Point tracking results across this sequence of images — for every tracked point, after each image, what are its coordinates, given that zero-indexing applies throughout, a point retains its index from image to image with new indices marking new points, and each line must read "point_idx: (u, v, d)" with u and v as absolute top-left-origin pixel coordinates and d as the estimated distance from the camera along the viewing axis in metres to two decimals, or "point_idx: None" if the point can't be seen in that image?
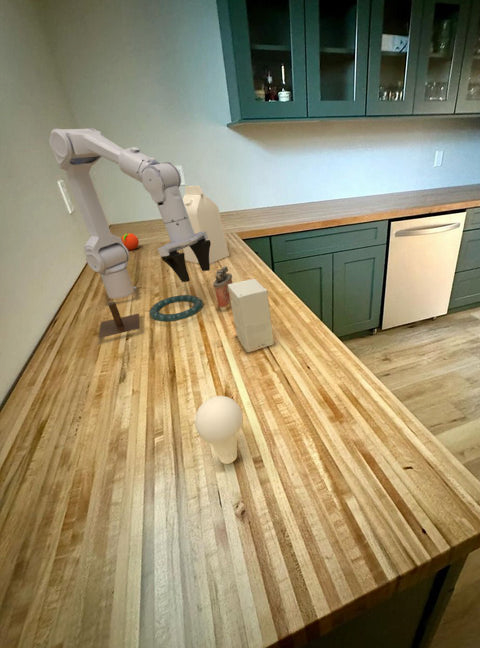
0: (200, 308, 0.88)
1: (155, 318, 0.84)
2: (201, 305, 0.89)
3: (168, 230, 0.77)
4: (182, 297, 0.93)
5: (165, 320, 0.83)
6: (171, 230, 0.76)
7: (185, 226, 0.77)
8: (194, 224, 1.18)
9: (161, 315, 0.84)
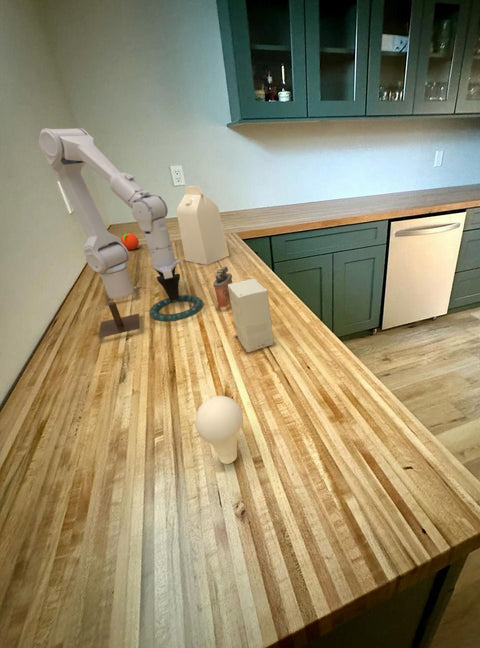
0: (200, 308, 0.88)
1: (155, 318, 0.84)
2: (201, 305, 0.89)
3: (159, 255, 0.85)
4: (182, 297, 0.93)
5: (165, 320, 0.83)
6: (163, 255, 0.85)
7: (172, 250, 0.88)
8: (194, 224, 1.18)
9: (161, 315, 0.84)
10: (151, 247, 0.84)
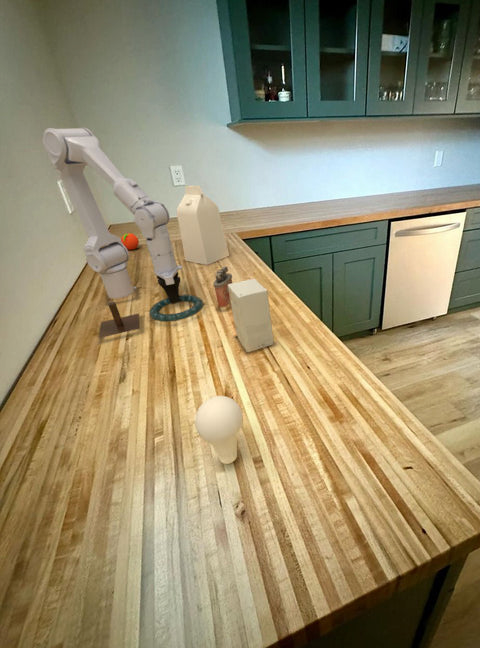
0: (200, 308, 0.88)
1: (155, 317, 0.84)
2: (201, 305, 0.89)
3: (161, 261, 0.86)
4: (182, 297, 0.93)
5: (165, 320, 0.83)
6: (165, 262, 0.86)
7: (174, 257, 0.88)
8: (194, 224, 1.18)
9: (161, 315, 0.84)
10: (153, 254, 0.85)
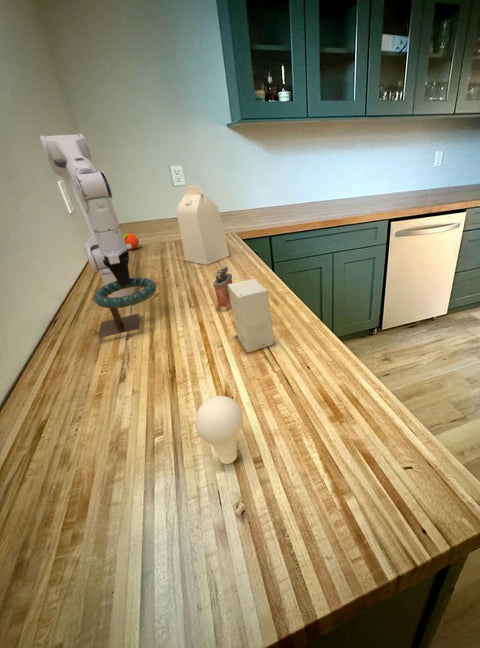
0: (150, 291, 0.79)
1: (99, 301, 0.76)
2: (152, 288, 0.81)
3: (105, 238, 0.77)
4: (133, 280, 0.85)
5: (109, 304, 0.75)
6: (110, 239, 0.77)
7: (121, 234, 0.80)
8: (194, 224, 1.18)
9: (105, 298, 0.76)
10: (92, 229, 0.77)
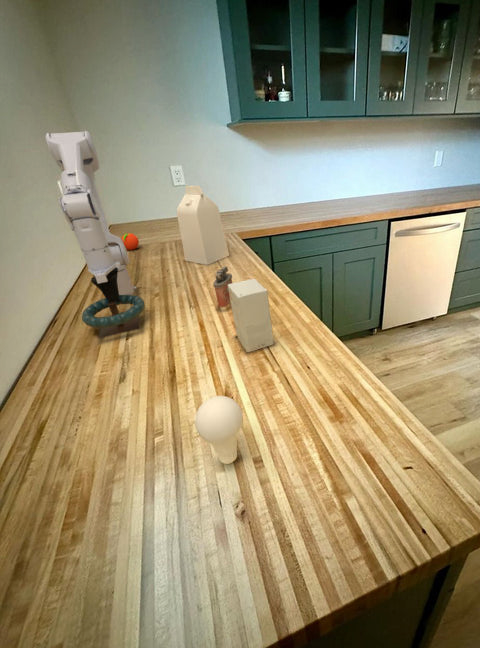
0: (138, 310, 0.80)
1: (86, 321, 0.76)
2: (140, 307, 0.81)
3: (93, 257, 0.77)
4: (122, 297, 0.85)
5: (96, 324, 0.75)
6: (98, 257, 0.78)
7: (110, 252, 0.80)
8: (194, 224, 1.18)
9: (92, 318, 0.76)
10: None
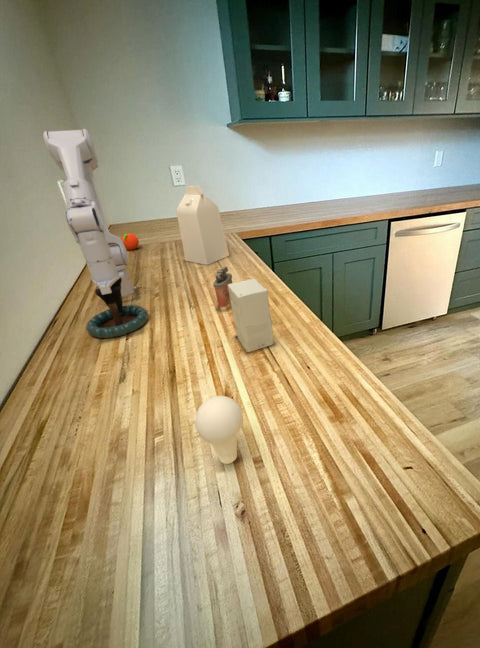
0: (142, 320, 0.81)
1: (91, 331, 0.77)
2: (144, 317, 0.82)
3: (97, 269, 0.79)
4: (126, 308, 0.87)
5: (101, 334, 0.77)
6: (102, 269, 0.79)
7: (114, 263, 0.81)
8: (194, 224, 1.18)
9: (97, 329, 0.77)
10: (85, 259, 0.79)
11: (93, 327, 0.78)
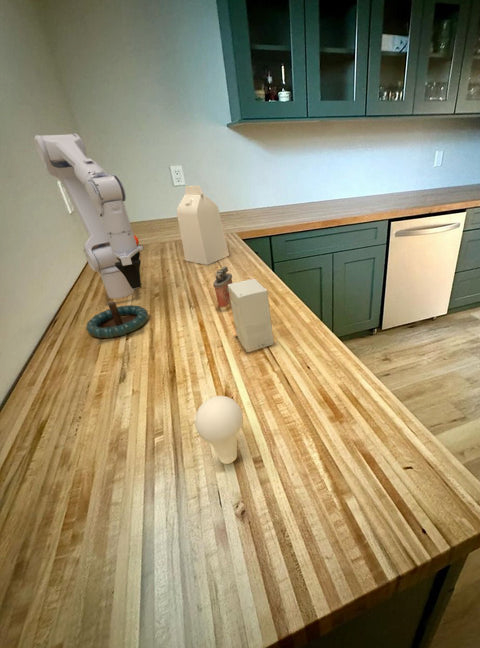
0: (142, 320, 0.81)
1: (91, 331, 0.77)
2: (144, 317, 0.82)
3: (118, 240, 0.79)
4: (126, 308, 0.87)
5: (101, 334, 0.77)
6: (122, 241, 0.79)
7: (133, 236, 0.82)
8: (194, 224, 1.18)
9: (97, 329, 0.77)
10: (106, 231, 0.79)
11: (93, 327, 0.78)
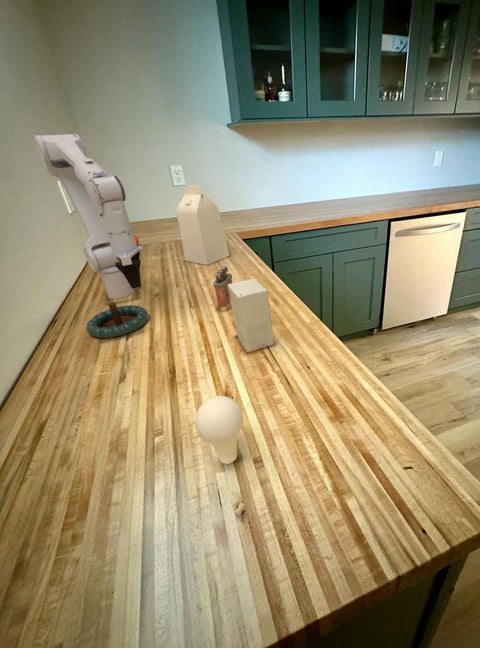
0: (142, 320, 0.81)
1: (91, 331, 0.77)
2: (144, 317, 0.82)
3: (118, 240, 0.79)
4: (126, 308, 0.87)
5: (101, 334, 0.77)
6: (122, 241, 0.79)
7: (133, 236, 0.82)
8: (194, 224, 1.18)
9: (97, 329, 0.77)
10: (106, 231, 0.79)
11: (93, 327, 0.78)
